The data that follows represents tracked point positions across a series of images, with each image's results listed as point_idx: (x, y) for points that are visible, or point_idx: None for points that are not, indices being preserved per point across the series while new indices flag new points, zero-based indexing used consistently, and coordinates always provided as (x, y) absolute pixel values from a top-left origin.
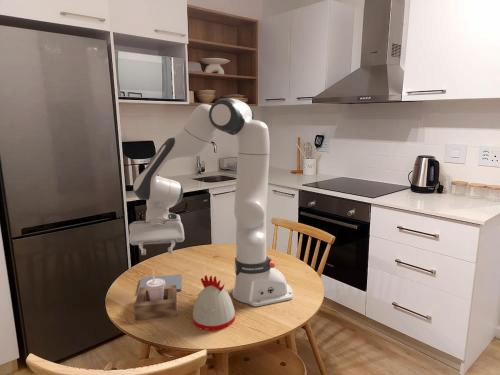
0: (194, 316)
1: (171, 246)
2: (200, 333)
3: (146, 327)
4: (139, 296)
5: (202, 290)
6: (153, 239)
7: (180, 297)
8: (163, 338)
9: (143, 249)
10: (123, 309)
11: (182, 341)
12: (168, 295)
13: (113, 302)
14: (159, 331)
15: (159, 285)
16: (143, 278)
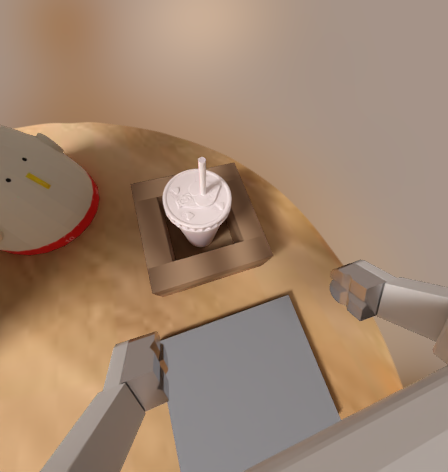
0: (81, 168)
1: (104, 396)
2: (77, 155)
3: (195, 165)
4: (245, 205)
5: (1, 146)
6: (402, 403)
7: (151, 298)
8: (150, 139)
9: (376, 280)
10: (279, 221)
11: (112, 134)
12: (160, 217)
13: (322, 248)
14: (165, 156)
15: (174, 176)
16: (328, 411)
